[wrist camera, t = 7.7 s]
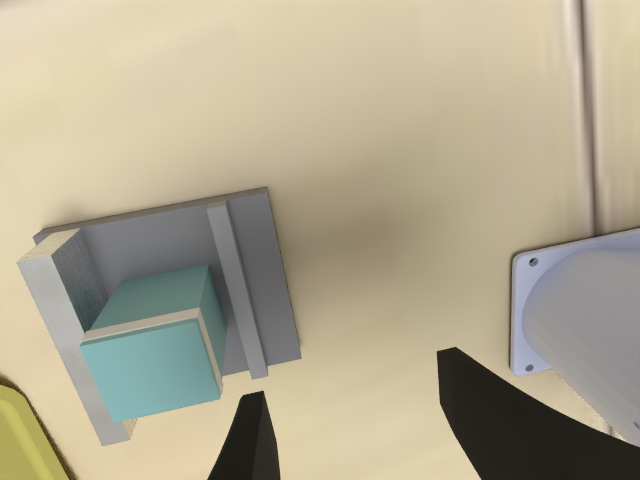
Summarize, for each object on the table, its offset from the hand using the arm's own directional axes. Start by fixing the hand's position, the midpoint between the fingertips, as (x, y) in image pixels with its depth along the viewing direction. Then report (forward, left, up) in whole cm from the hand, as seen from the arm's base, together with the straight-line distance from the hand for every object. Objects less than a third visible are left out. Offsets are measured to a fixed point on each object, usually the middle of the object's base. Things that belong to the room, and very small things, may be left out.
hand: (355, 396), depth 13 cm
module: (+7, 0, -8) cm, 11 cm away
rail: (+10, 0, -8) cm, 13 cm away
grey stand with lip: (+6, 0, -9) cm, 11 cm away
